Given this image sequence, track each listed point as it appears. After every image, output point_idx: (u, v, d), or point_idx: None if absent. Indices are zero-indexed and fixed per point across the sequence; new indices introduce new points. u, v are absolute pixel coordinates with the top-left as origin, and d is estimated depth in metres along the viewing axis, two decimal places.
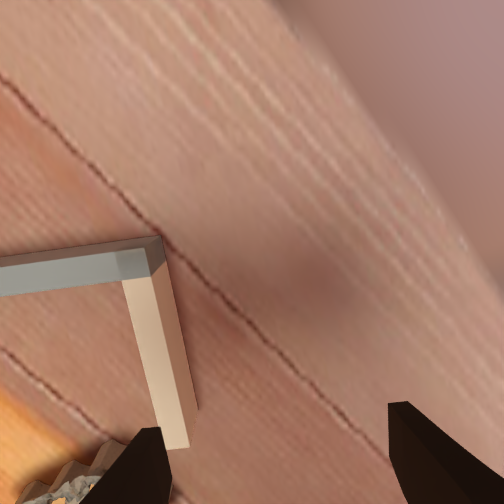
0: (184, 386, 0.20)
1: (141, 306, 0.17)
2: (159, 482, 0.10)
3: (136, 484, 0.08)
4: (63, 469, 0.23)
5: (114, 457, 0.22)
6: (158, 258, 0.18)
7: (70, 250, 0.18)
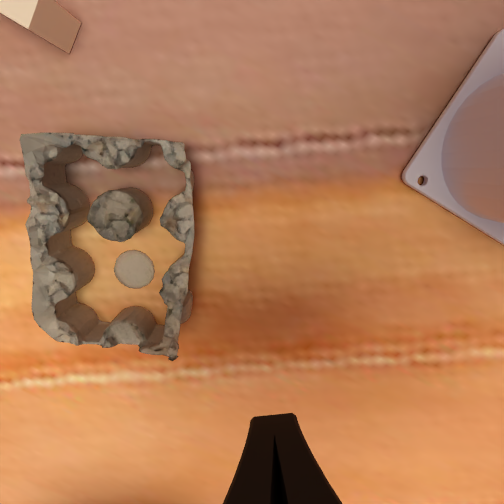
0: None
1: None
2: (278, 470, 0.10)
3: (273, 471, 0.08)
4: (66, 241, 0.18)
5: (64, 160, 0.16)
6: None
7: None
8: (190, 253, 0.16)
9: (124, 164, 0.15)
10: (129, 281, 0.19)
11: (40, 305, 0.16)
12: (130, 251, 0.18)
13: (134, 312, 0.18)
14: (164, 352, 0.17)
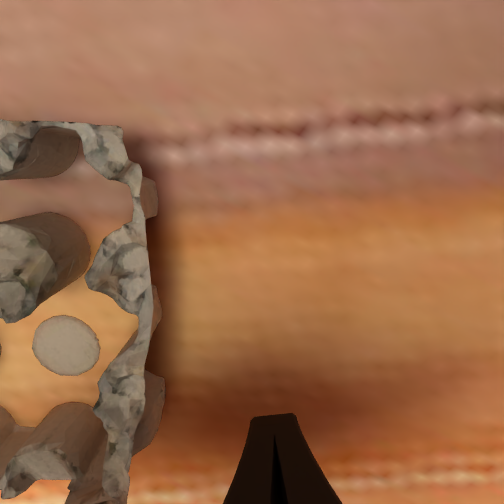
0: None
1: None
2: (278, 470, 0.10)
3: (274, 471, 0.08)
4: None
5: None
6: None
7: None
8: (147, 338, 0.08)
9: (9, 173, 0.08)
10: (58, 365, 0.11)
11: None
12: (56, 318, 0.11)
13: (66, 419, 0.11)
14: None
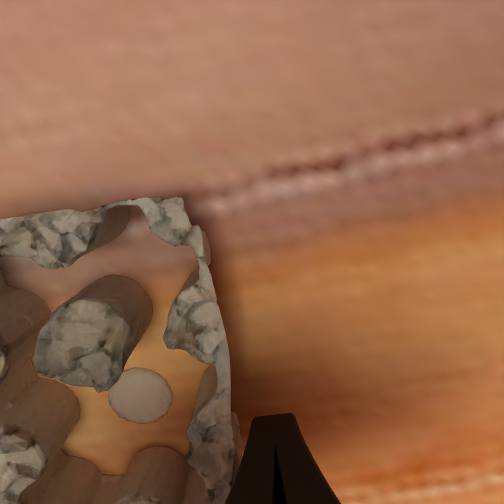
0: None
1: None
2: None
3: (275, 470, 0.08)
4: (24, 377, 0.11)
5: None
6: None
7: None
8: (228, 386, 0.09)
9: (81, 253, 0.08)
10: (135, 414, 0.12)
11: None
12: (128, 371, 0.11)
13: (151, 465, 0.11)
14: None
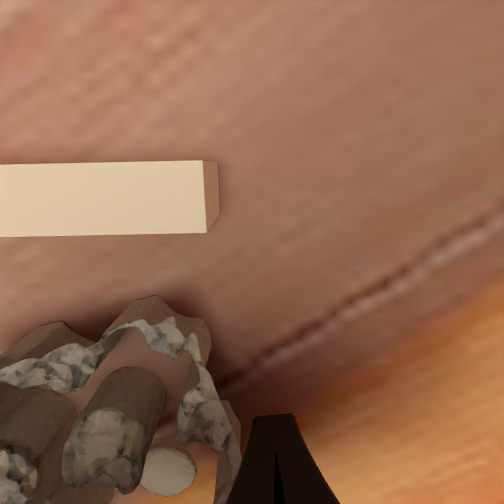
0: None
1: None
2: None
3: (276, 470, 0.08)
4: (57, 470, 0.12)
5: None
6: None
7: None
8: None
9: (91, 373, 0.09)
10: (163, 489, 0.12)
11: None
12: (151, 451, 0.12)
13: None
14: None
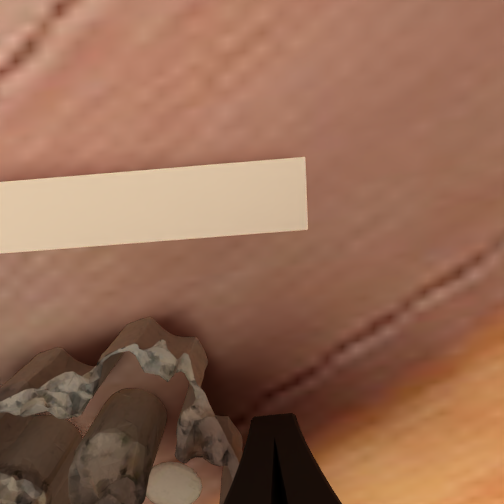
0: None
1: None
2: None
3: (274, 471, 0.08)
4: (68, 490, 0.12)
5: None
6: None
7: None
8: None
9: (90, 397, 0.09)
10: (172, 502, 0.13)
11: None
12: (157, 466, 0.12)
13: None
14: None
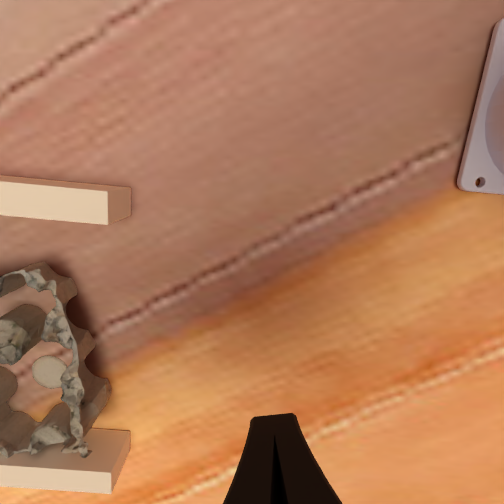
0: (54, 183, 0.16)
1: None
2: (278, 470, 0.10)
3: (274, 471, 0.08)
4: None
5: None
6: None
7: None
8: (77, 358, 0.17)
9: None
10: (48, 383, 0.20)
11: None
12: (41, 358, 0.20)
13: (58, 411, 0.20)
14: None
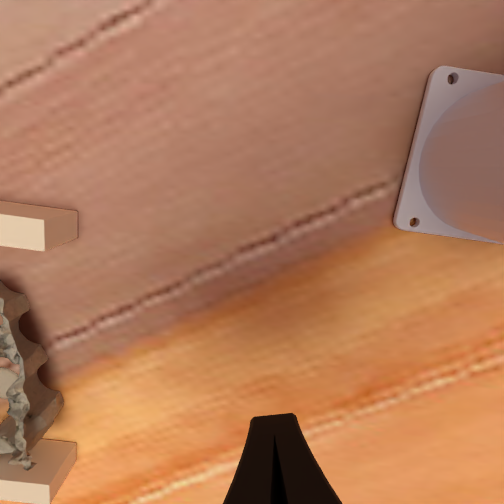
0: None
1: None
2: (278, 470, 0.10)
3: (274, 471, 0.08)
4: None
5: None
6: None
7: None
8: (22, 374, 0.18)
9: None
10: (2, 393, 0.21)
11: None
12: None
13: (10, 421, 0.21)
14: None
